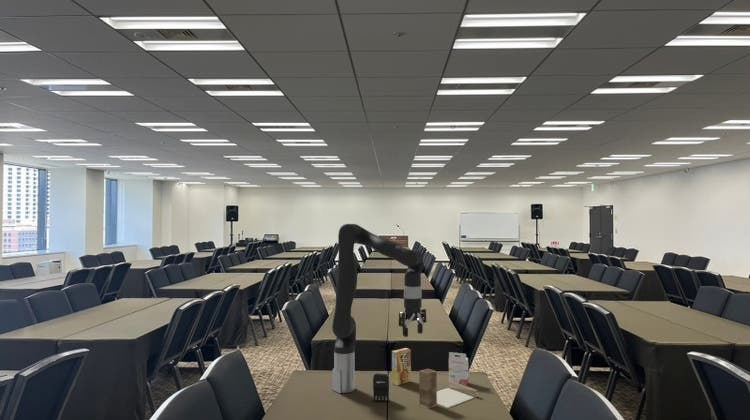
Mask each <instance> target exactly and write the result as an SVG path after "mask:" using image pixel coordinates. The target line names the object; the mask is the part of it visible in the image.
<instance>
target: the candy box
mask: <svg viewBox="0 0 750 420" xmlns="http://www.w3.org/2000/svg"><path fill="white" fill-rule="evenodd" d="M411 381H412V349H410V348H408V347H404V348H400V349H396V350H391V383H392V385H395V386H401V385H404V384H406V383H409V382H411Z"/></svg>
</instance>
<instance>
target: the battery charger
mask: <svg viewBox="0 0 750 420" xmlns="http://www.w3.org/2000/svg"><path fill="white" fill-rule="evenodd" d="M372 390H373V392H372V393H373V401H374V402H378V403H379V402H383V403H385V402H389V401H390V375H389V374H388V373H386V372H376V373H374V374H373V377H372Z"/></svg>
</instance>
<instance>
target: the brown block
mask: <svg viewBox="0 0 750 420" xmlns="http://www.w3.org/2000/svg"><path fill="white" fill-rule="evenodd" d="M418 374H419V378H418V379H419V385H418V386H419V406H422V407H424V408H426V409H431V408H434V407H436V406H438V404H437V391H438V389H437V385H438V384H437V382H438V381H437V379H438V378H437V376H438V375H437V371H436V370H434V369H430V368H425V369H420V370H419V372H418Z"/></svg>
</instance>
